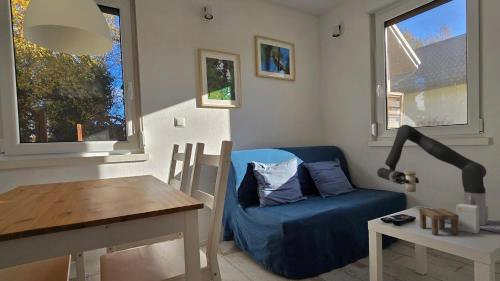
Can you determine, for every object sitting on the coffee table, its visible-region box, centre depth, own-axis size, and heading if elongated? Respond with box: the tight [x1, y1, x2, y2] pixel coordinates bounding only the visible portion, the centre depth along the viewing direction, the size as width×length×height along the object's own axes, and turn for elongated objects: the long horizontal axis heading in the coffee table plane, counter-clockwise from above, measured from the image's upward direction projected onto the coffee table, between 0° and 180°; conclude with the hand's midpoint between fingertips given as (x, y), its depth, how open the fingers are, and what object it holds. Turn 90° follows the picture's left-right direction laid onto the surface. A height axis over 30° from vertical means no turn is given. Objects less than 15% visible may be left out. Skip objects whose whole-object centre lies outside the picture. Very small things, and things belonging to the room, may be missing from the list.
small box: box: [455, 203, 480, 234], centre depth 137 cm, size 8×6×13 cm
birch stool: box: [403, 170, 417, 193], centre depth 153 cm, size 6×6×11 cm
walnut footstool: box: [418, 208, 459, 236], centre depth 138 cm, size 12×12×10 cm
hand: (413, 181), depth 151 cm, fingers closed on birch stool, 4 cm apart
